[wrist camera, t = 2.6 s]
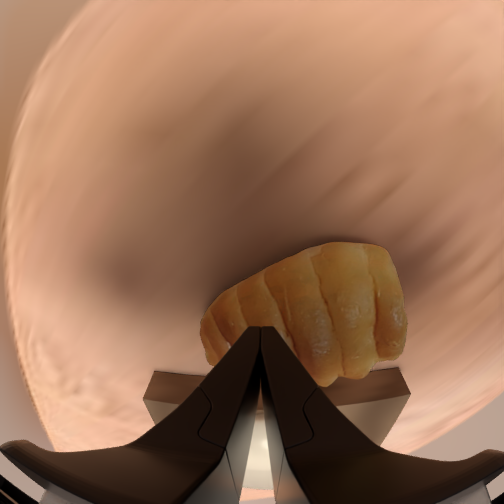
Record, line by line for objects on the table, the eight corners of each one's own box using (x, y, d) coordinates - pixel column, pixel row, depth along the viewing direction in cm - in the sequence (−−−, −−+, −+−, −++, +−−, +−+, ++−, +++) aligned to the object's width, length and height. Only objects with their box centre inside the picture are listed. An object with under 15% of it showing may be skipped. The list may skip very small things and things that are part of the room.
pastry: (231, 371, 15) (223, 423, 12) (181, 274, 13) (154, 322, 9) (388, 332, 14) (413, 379, 10) (378, 219, 11) (418, 252, 8)
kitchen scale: (398, 367, 15) (415, 403, 12) (354, 454, 20) (359, 481, 17) (154, 371, 16) (138, 408, 13) (190, 457, 21) (184, 483, 18)
